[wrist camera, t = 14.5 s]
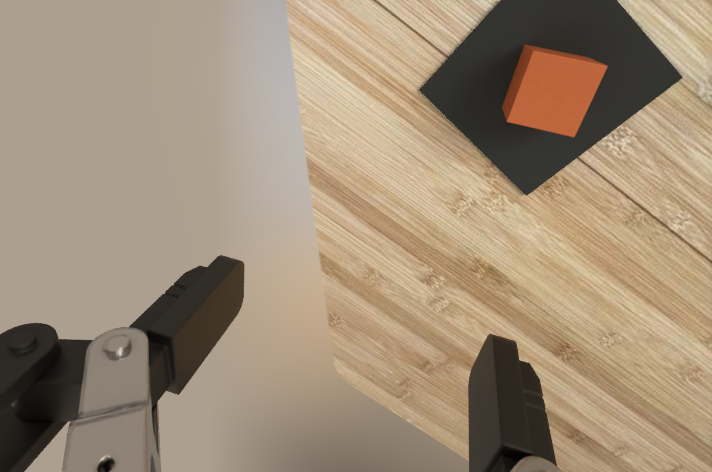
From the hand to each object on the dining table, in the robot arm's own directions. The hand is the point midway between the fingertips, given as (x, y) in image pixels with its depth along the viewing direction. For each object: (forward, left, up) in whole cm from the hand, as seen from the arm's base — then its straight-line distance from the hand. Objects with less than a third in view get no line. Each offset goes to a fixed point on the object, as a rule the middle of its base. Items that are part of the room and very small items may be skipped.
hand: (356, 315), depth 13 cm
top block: (+5, +8, -28) cm, 29 cm away
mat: (+5, +8, -28) cm, 29 cm away
